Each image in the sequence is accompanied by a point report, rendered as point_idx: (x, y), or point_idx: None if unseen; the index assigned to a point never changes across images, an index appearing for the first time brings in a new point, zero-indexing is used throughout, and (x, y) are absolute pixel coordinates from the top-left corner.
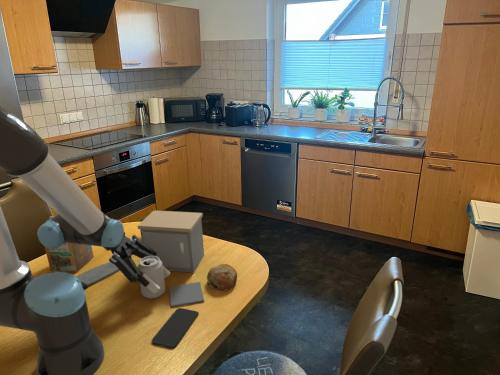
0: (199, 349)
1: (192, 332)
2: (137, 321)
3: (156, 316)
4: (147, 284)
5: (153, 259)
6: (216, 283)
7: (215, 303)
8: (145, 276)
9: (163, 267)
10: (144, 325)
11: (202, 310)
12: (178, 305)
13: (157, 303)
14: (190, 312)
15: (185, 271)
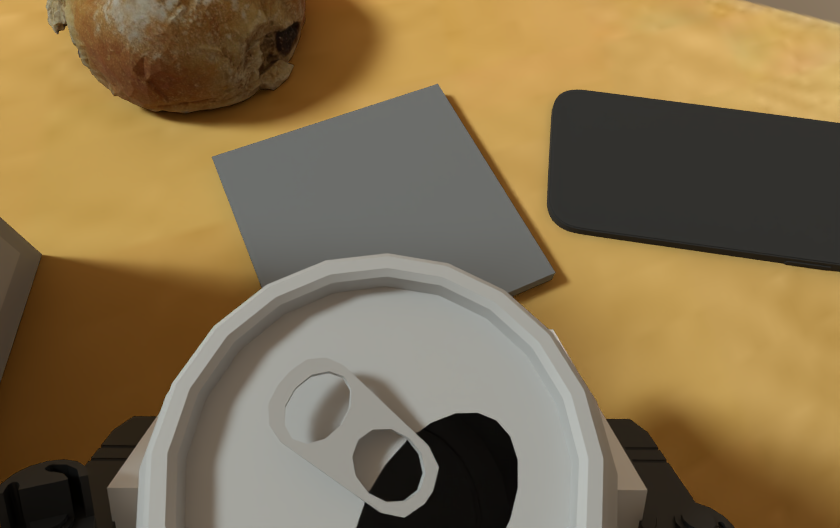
0: (820, 33)
1: (726, 88)
2: (795, 483)
3: (682, 350)
4: (636, 429)
5: (271, 418)
6: (285, 10)
7: (443, 35)
8: (625, 456)
9: None
10: (807, 400)
11: (526, 84)
12: (524, 230)
13: None
14: (578, 133)
15: (12, 329)
